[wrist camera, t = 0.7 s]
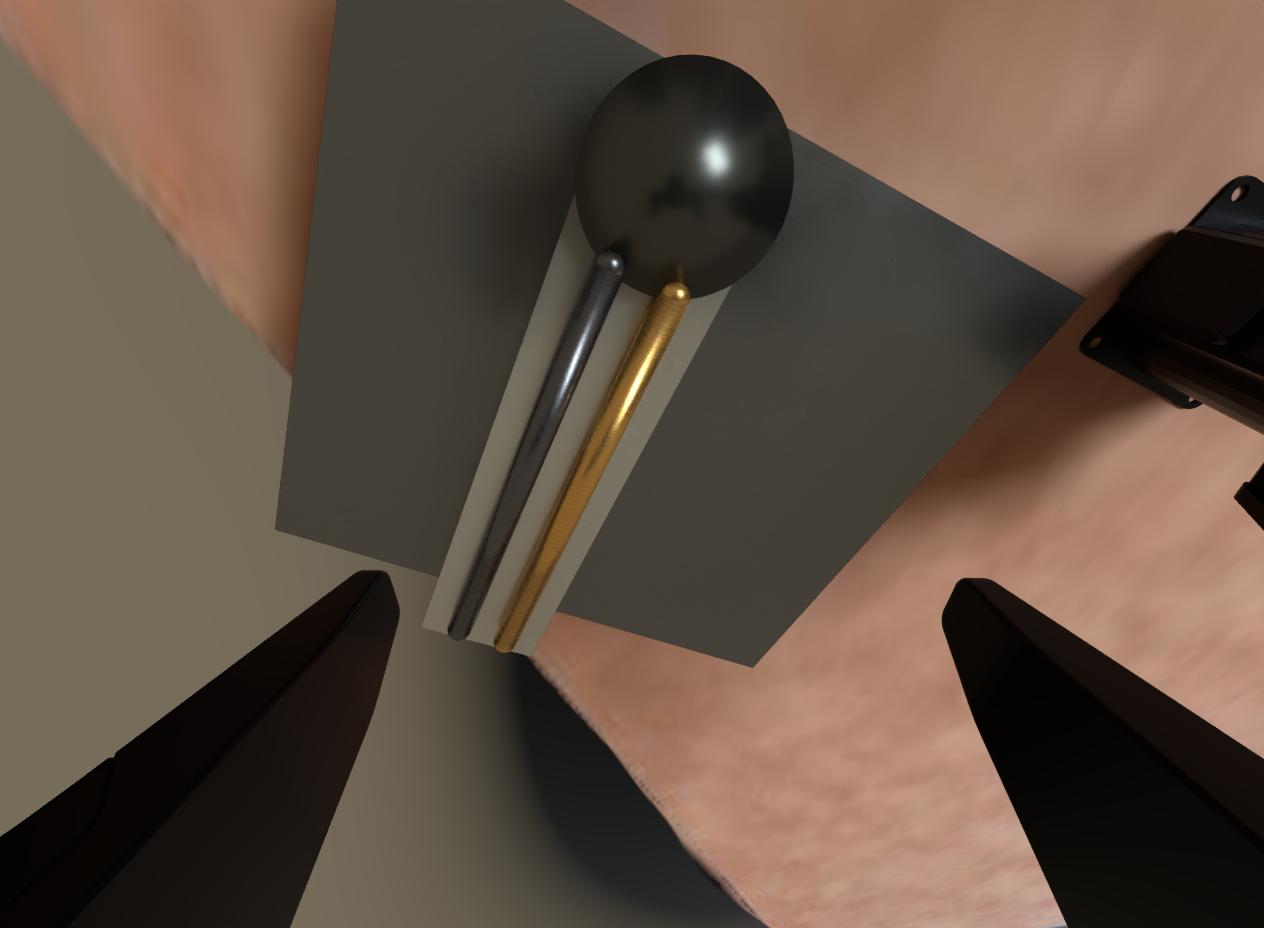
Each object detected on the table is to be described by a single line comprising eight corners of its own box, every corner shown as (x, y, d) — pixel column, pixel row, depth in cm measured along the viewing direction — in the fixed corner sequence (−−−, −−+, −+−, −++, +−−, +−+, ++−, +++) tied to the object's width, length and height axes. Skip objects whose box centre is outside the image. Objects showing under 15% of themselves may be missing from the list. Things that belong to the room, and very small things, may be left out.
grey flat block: (1003, 263, 19) (1094, 301, 15) (737, 599, 28) (754, 673, 24) (416, -67, 14) (344, -126, 10) (325, 467, 23) (270, 535, 19)
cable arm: (800, 122, 13) (842, 126, 10) (543, 613, 22) (533, 677, 19) (627, 22, 12) (628, 0, 9) (433, 581, 21) (407, 644, 18)
